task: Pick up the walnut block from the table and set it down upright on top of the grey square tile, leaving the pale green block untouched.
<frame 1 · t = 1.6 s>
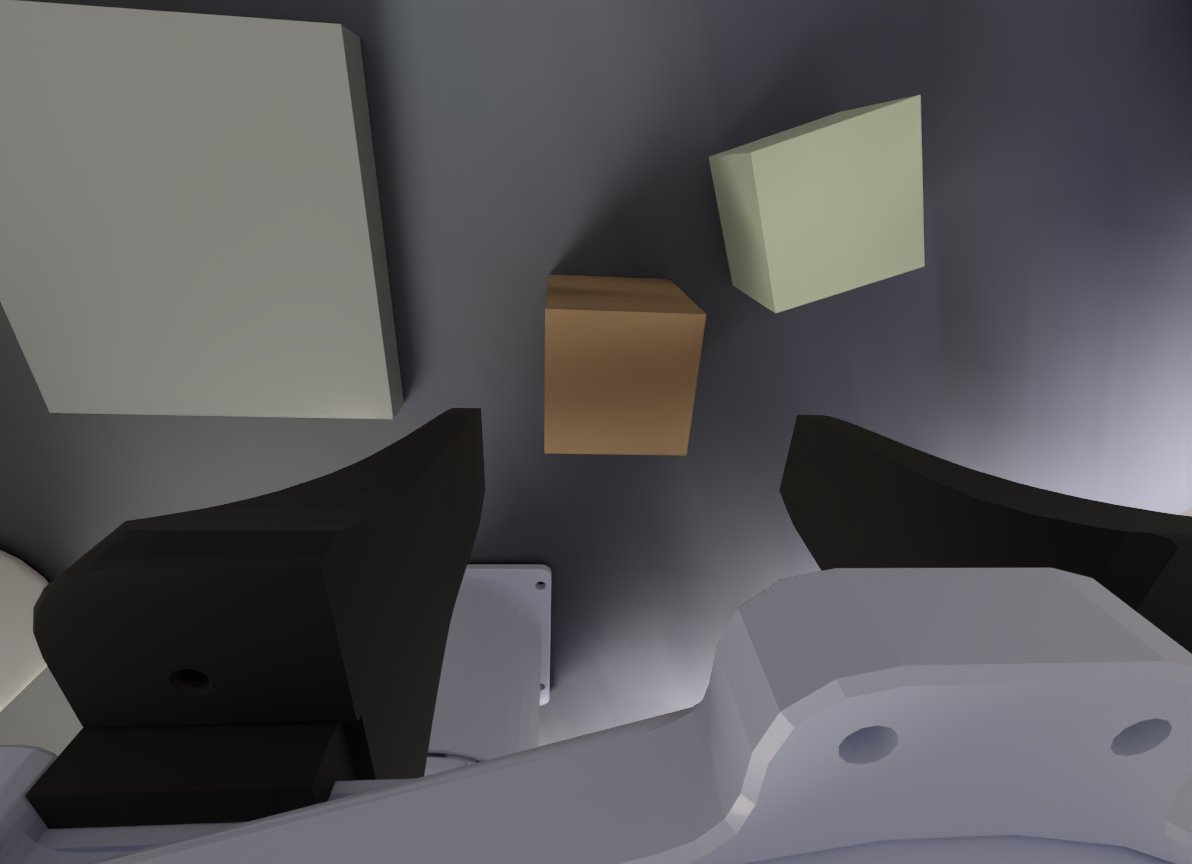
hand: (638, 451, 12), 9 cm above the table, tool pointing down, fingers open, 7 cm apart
grey square tile: (205, 238, 18), on the table
walnut block: (606, 335, 20), on the table
pale green block: (781, 203, 19), on the table
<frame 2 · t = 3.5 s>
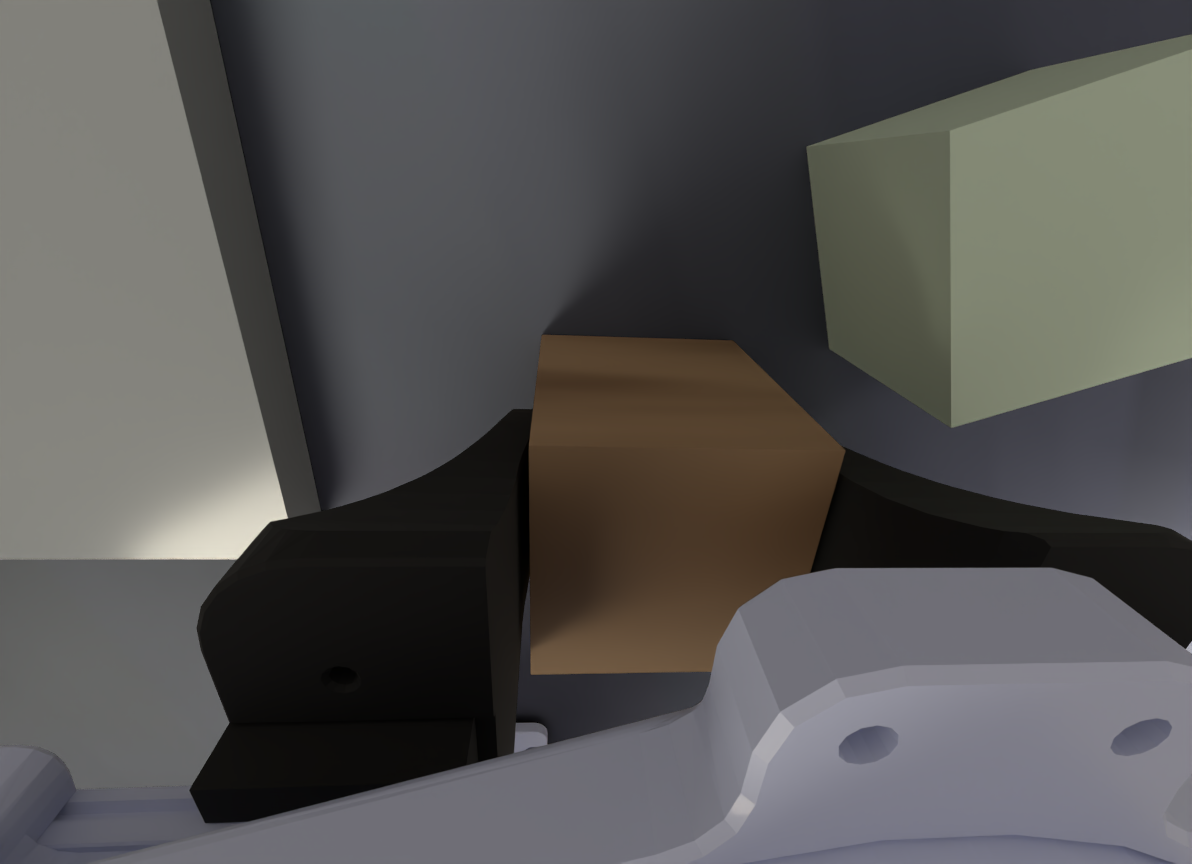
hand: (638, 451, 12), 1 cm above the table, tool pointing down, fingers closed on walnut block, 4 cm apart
walnut block: (631, 424, 13), on the table, touching gripper
pale green block: (917, 223, 12), on the table
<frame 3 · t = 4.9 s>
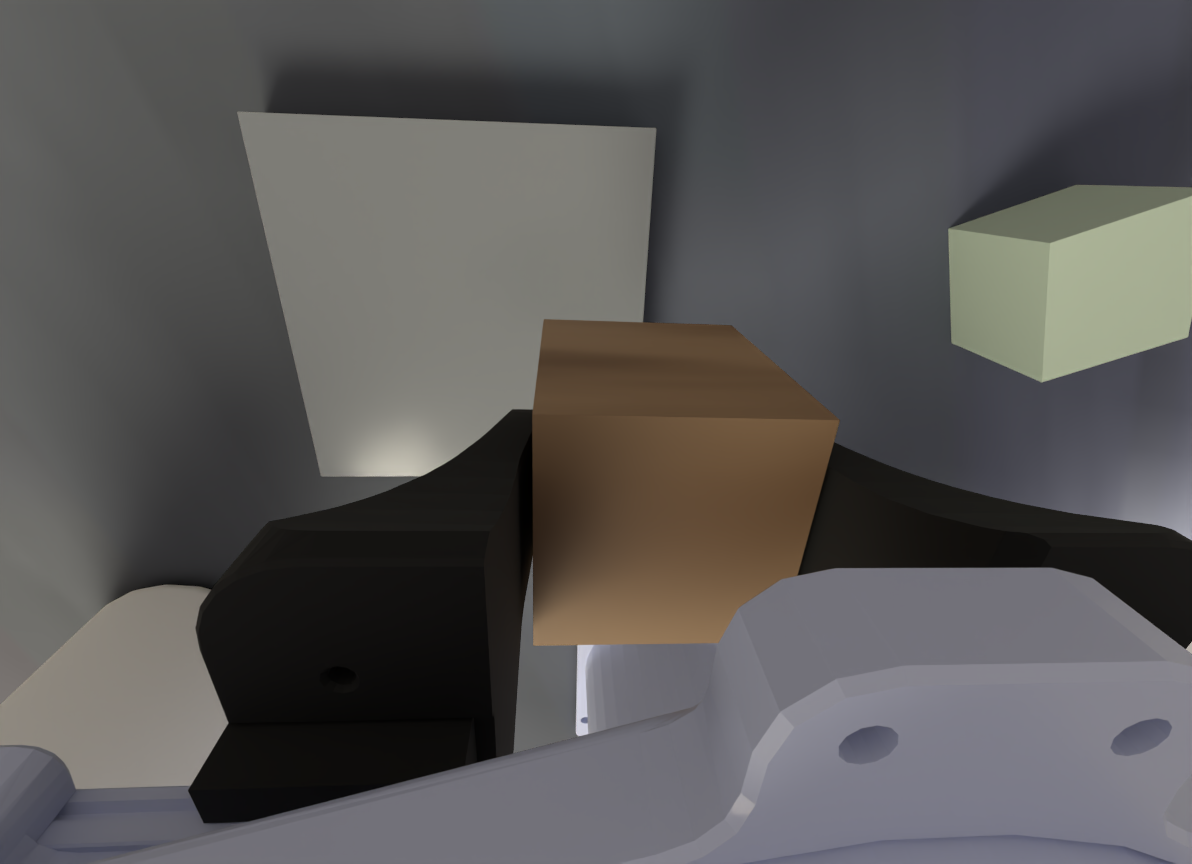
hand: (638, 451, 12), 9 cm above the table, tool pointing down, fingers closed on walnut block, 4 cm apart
grey square tile: (474, 313, 19), on the table
potion bottle: (206, 636, 26), on the table
walnut block: (631, 409, 13), point 7 cm above the table, touching gripper
pale green block: (1008, 268, 20), on the table
when the fingers open (4 cm above the table, at t = 6.6 s): walnut block stays where it is, resting on grey square tile.
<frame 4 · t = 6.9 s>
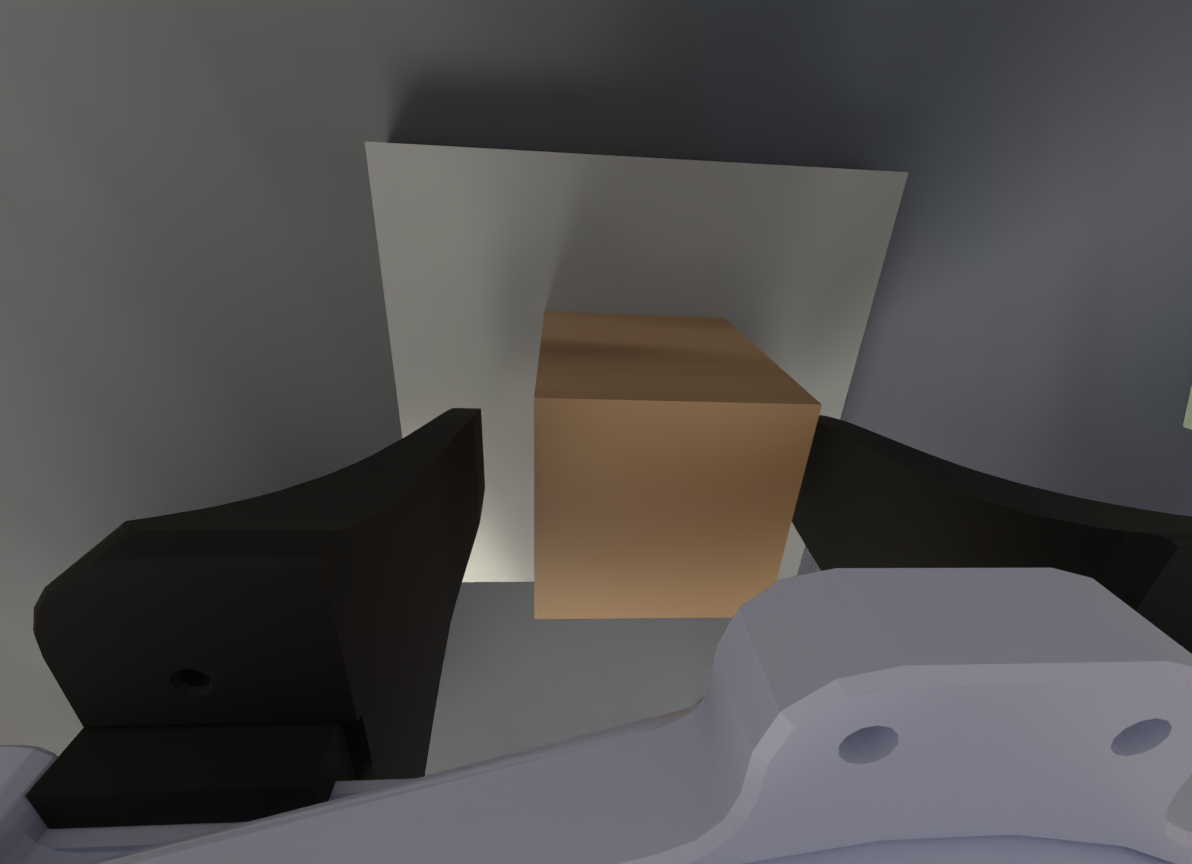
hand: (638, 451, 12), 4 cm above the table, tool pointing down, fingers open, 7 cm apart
grey square tile: (621, 388, 15), on the table
walnut block: (628, 398, 14), point 1 cm above the table, touching grey square tile
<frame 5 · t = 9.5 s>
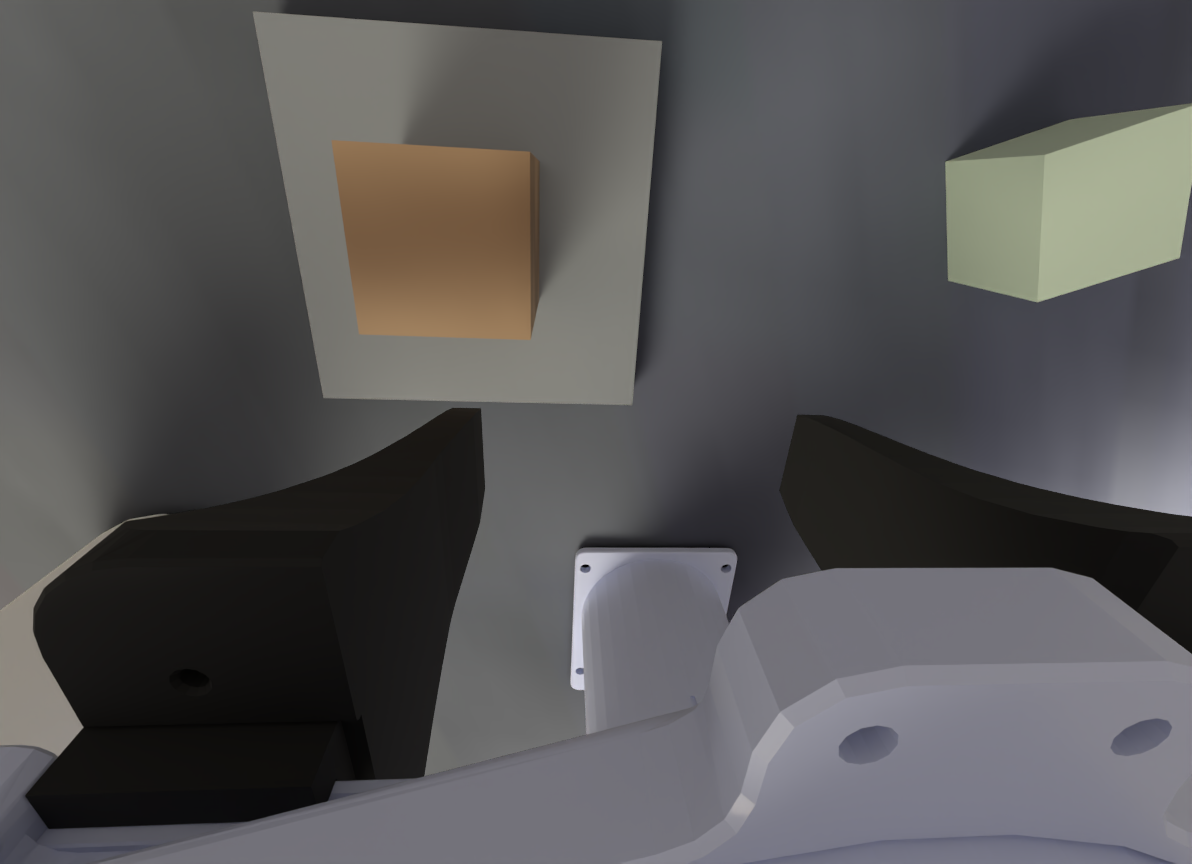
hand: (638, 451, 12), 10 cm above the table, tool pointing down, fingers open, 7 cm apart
grey square tile: (479, 236, 20), on the table
potion bottle: (202, 573, 25), on the table
walnut block: (473, 231, 18), point 1 cm above the table, touching grey square tile
pale green block: (1004, 204, 20), on the table
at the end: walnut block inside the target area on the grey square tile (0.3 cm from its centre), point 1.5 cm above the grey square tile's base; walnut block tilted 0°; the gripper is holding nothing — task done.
